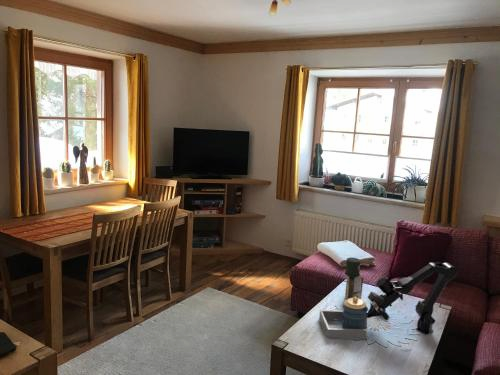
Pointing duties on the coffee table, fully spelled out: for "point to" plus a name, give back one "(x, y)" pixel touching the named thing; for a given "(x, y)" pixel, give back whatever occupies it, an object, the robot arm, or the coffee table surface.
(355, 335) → the corral
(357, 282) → the coffee box
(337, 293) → the coffee table surface
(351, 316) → the canister
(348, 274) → the stick grenade
